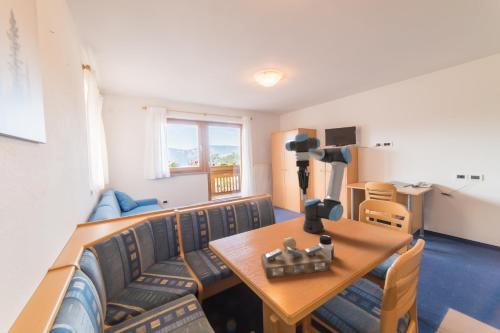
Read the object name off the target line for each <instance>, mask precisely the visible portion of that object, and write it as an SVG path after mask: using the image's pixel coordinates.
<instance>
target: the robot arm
mask: <svg viewBox="0 0 500 333" xmlns="http://www.w3.org/2000/svg"><path fill="white" fill-rule="evenodd" d="M294 137H295V139H294V138H293V139H289V140H287V141H286V142H285V146H284V147H285V150H286V151H288V152H295V155H294V156H295V160H296V161H295V166H296V167H297V168H298V170H297V171H296V173H297V179H298V186H299V188H300V194H301V195H300V198H301V201H304V221H303V226H302V230H303V231H304V232H307V233H309V234H321V233H324V232H325V227H324V223H323V221H322V219H324V220H328V221H331V222H332V221H334V222H338V221H340V220H341V219H342V217H343V215H344V206H343V205H342V202H341V199H340V197H341V191H342V187H343V186H342V185H343V179H344V173H345V170H346V169H345V168H347V167H348V165H349V164H351V163H352V161H353V155H352V151H351V149H350V148H349V147H346V146H344V147H343V146H341V147H330V148H329V147H328V148H322V147H321V140H320V139H319V138H317V137H309V134H308V133H306V132H303V133H302V132H301V133H296V134H295V136H294ZM310 157H311V158H314V160H315V161H319V162H322V163H326V164H330V165H331V170H330V176H329V181H328V185H327V186H328V187H327V191H326V197H324V198H323V201H322V200H321V198H309V199H307V198H308V197H307V189H309V178H310V174H311V173H310V172H309V171H308V168H309V166H310V160H309V159H310Z"/></svg>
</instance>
